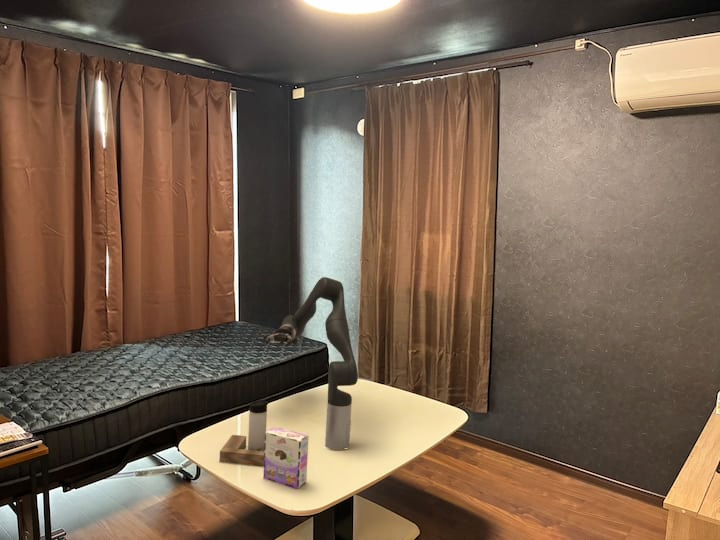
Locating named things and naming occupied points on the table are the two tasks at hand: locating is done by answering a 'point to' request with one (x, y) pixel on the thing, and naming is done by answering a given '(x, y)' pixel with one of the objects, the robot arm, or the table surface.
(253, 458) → the wooden u-shaped block
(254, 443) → the travel mug
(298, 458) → the candy box
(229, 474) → the table surface
